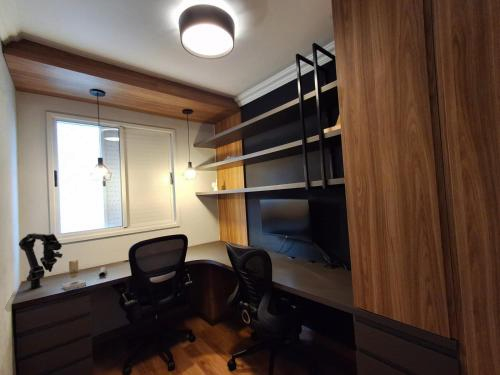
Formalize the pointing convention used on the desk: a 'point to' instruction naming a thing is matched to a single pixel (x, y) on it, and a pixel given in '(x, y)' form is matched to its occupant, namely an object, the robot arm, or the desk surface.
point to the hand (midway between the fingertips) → (48, 271)
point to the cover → (73, 268)
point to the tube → (102, 275)
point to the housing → (73, 284)
